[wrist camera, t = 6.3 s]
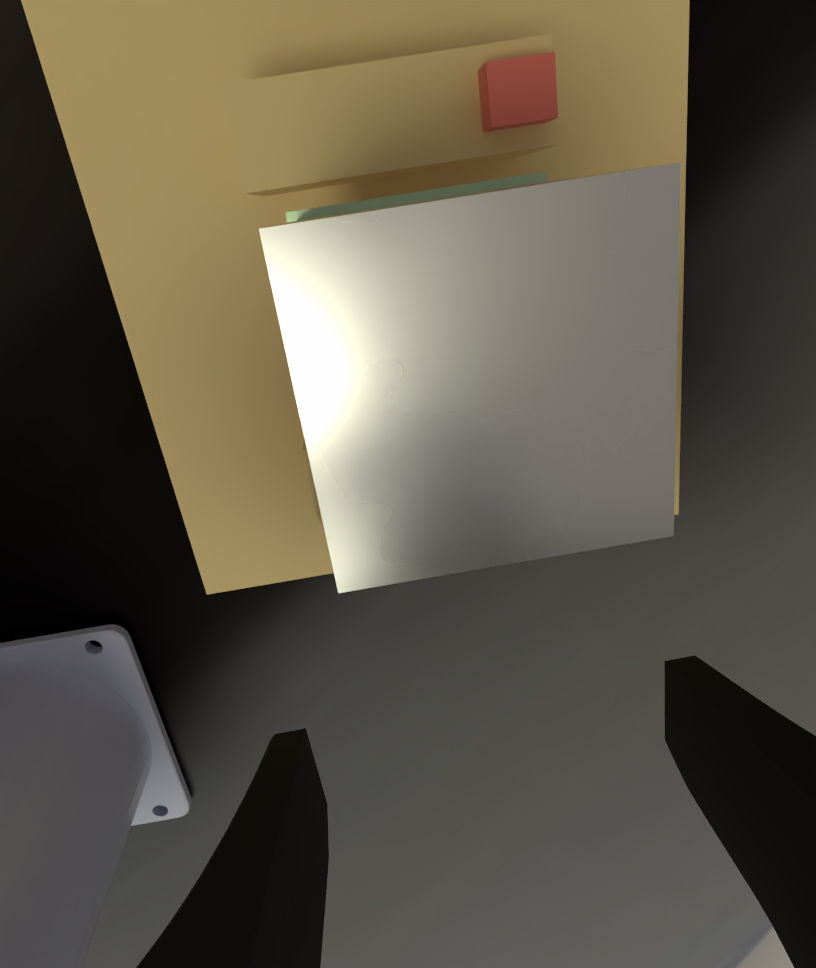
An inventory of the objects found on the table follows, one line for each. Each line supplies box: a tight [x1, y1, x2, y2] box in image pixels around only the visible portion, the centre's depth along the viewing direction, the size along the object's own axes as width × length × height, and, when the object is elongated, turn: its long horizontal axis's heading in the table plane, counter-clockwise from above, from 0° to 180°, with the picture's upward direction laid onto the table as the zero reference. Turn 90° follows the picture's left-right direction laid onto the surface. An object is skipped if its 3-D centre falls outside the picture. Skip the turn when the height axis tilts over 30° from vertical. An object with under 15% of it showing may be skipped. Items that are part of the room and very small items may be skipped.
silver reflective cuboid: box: [259, 163, 680, 593], centre depth 10 cm, size 4×4×7 cm
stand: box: [21, 0, 689, 595], centre depth 15 cm, size 14×15×5 cm
